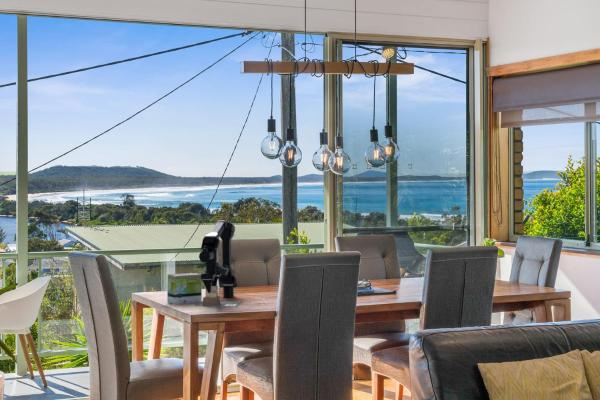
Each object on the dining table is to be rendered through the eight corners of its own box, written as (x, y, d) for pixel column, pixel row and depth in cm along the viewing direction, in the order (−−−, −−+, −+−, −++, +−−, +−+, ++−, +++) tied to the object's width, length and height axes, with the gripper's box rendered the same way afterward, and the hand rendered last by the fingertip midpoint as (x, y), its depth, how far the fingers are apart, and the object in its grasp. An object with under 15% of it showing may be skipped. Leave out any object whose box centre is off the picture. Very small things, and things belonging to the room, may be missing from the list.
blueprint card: (227, 304, 424) (227, 303, 424) (237, 304, 424) (237, 303, 424) (224, 306, 418) (224, 305, 418) (234, 306, 418) (234, 305, 418)
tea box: (176, 305, 428) (175, 275, 427) (167, 302, 436) (166, 274, 435) (202, 302, 436) (202, 273, 436) (192, 300, 445) (192, 272, 444)
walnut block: (206, 303, 428) (206, 295, 427) (220, 303, 427) (220, 295, 426) (203, 305, 421) (203, 297, 421) (216, 305, 420) (216, 297, 419)
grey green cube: (208, 295, 426) (208, 286, 426) (217, 296, 426) (217, 286, 425) (205, 297, 421) (205, 287, 421) (215, 297, 421) (215, 287, 420)
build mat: (202, 302, 436) (202, 301, 436) (243, 303, 432) (243, 301, 432) (193, 307, 420) (193, 305, 420) (236, 307, 417) (236, 306, 416)
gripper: (222, 262, 413) (222, 294, 413) (231, 258, 431) (231, 289, 431) (200, 262, 414) (200, 294, 415) (210, 258, 433) (210, 289, 433)
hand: (211, 291), depth 423 cm, fingers open, 9 cm apart
